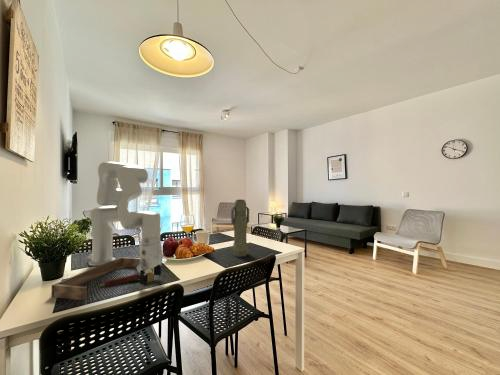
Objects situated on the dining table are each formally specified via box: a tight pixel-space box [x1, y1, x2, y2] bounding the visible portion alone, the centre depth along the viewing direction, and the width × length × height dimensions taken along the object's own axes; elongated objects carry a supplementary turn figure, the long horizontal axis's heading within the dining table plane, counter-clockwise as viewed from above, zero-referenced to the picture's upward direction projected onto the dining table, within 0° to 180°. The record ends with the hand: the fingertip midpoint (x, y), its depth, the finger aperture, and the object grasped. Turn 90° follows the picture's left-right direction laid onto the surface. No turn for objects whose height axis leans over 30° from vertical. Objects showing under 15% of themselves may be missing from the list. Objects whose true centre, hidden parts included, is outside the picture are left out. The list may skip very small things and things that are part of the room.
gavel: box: [99, 268, 156, 288], centre depth 97 cm, size 21×5×10 cm
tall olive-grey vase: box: [230, 199, 250, 258], centre depth 138 cm, size 9×12×35 cm
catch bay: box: [50, 256, 140, 301], centre depth 100 cm, size 15×35×4 cm, turn 170°
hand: (150, 279), depth 96 cm, fingers open, 9 cm apart
